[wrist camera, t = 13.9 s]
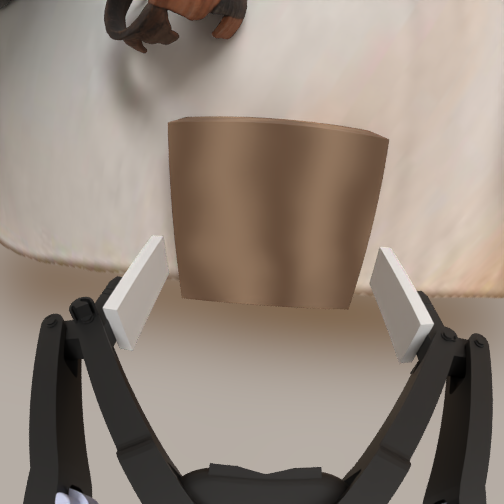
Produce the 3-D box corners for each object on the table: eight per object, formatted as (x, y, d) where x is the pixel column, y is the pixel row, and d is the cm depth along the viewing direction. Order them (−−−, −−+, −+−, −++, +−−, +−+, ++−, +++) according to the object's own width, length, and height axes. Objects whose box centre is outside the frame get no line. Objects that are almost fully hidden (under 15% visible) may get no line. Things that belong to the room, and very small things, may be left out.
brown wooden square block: (194, 267, 29) (182, 297, 25) (188, 116, 21) (167, 122, 17) (339, 276, 29) (348, 309, 24) (367, 130, 21) (388, 139, 17)
